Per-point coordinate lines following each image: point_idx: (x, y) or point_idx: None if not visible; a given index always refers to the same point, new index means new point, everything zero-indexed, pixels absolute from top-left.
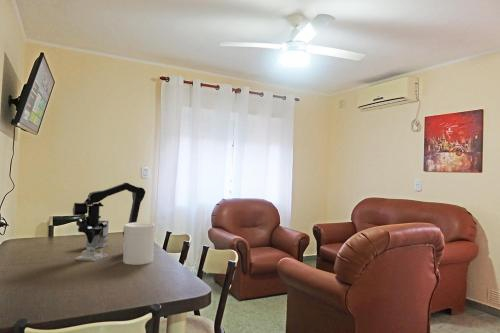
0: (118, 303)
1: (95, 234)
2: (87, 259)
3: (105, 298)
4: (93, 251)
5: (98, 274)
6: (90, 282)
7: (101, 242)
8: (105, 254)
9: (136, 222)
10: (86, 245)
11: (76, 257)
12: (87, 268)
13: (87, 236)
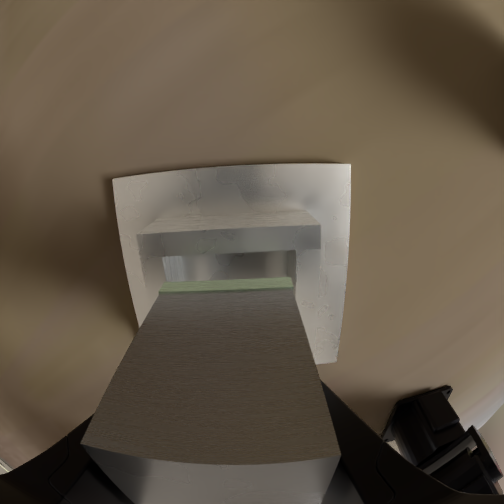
0: (12, 464)
1: (337, 496)
2: (135, 303)
3: (3, 450)
4: (292, 278)
5: (41, 427)
6: (3, 420)
7: None
8: (317, 356)
9: None
10: (153, 306)
11: (126, 180)
12: (43, 375)
13: (56, 461)
